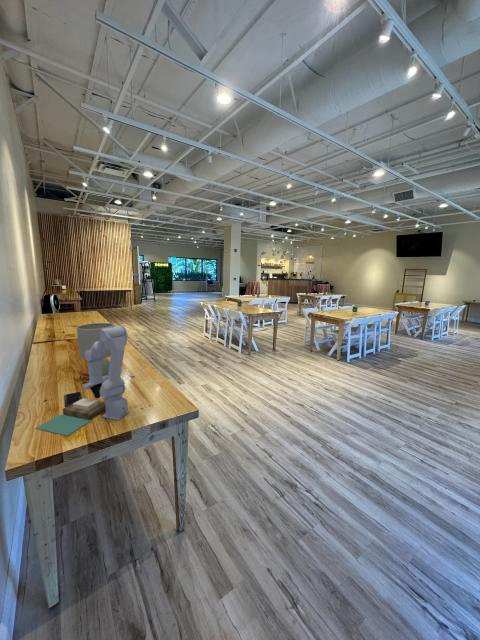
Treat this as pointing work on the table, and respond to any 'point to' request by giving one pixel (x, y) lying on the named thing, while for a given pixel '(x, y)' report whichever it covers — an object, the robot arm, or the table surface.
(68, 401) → the phone
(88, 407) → the white rectangular block
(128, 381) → the table surface
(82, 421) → the mat
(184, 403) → the table surface
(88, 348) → the lamp
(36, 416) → the table surface
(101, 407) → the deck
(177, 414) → the table surface
